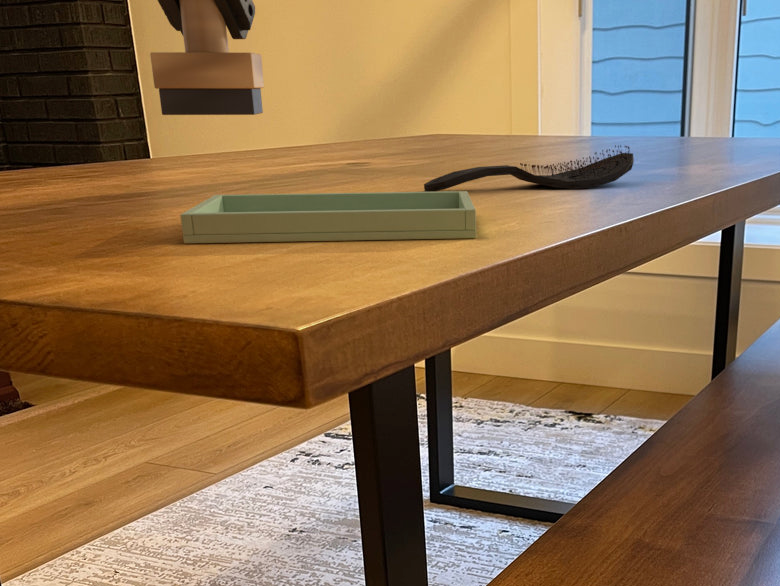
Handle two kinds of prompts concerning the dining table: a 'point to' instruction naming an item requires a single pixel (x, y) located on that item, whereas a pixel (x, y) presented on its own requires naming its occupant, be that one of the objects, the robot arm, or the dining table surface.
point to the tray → (330, 217)
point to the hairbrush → (568, 179)
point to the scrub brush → (207, 69)
